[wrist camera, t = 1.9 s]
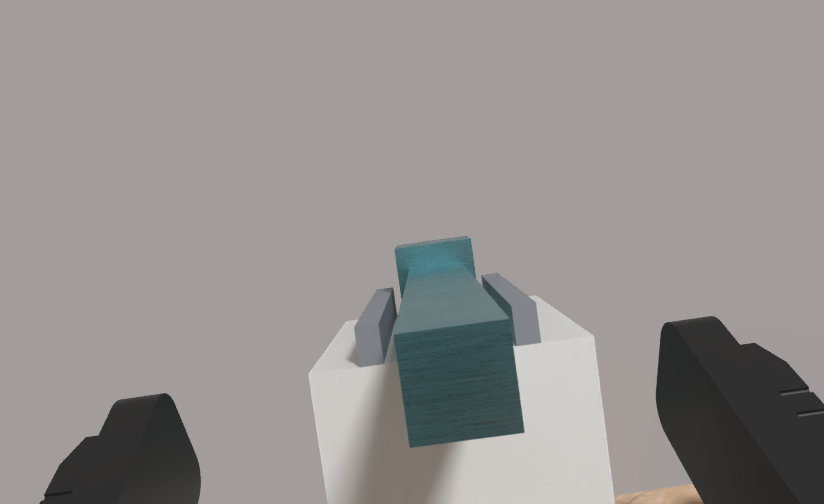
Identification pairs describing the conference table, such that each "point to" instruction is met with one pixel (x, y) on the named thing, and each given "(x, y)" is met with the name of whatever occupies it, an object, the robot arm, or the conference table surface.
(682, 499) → the conference table surface
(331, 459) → the tall white pedestal box
